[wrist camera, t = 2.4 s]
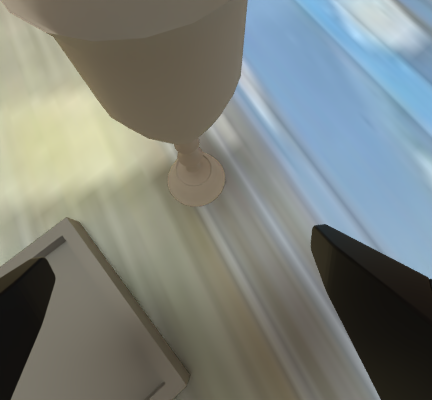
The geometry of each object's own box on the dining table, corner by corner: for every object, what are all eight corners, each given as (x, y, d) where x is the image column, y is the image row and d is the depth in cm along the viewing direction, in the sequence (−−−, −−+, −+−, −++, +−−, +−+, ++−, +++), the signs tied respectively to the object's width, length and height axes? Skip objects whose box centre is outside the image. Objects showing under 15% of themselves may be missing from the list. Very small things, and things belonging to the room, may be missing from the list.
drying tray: (190, 375, 20) (186, 385, 18) (-5, 559, 18) (-33, 594, 16) (79, 222, 23) (66, 217, 21) (-99, 357, 21) (-132, 366, 19)
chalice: (175, 232, 23) (33, 92, 6) (142, 165, 25) (-45, -99, 7) (251, 192, 24) (332, -38, 6) (214, 130, 25) (199, -184, 8)
